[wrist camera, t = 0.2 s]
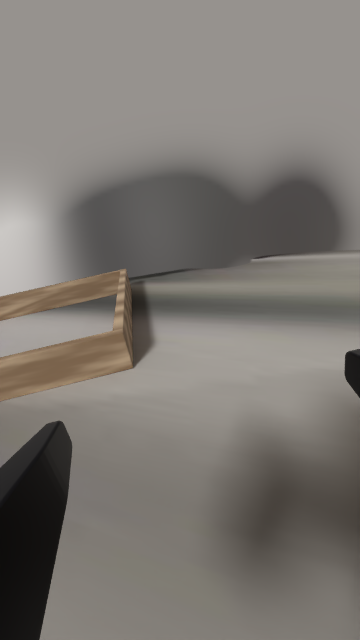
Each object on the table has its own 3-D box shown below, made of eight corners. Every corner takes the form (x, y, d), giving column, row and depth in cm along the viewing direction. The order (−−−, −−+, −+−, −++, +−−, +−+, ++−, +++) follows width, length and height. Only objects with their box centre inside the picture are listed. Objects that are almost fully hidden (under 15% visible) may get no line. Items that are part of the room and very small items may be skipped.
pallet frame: (133, 368, 44) (122, 332, 41) (-218, 455, 40) (-252, 422, 38) (131, 289, 83) (125, 268, 81) (-46, 329, 79) (-57, 309, 77)
